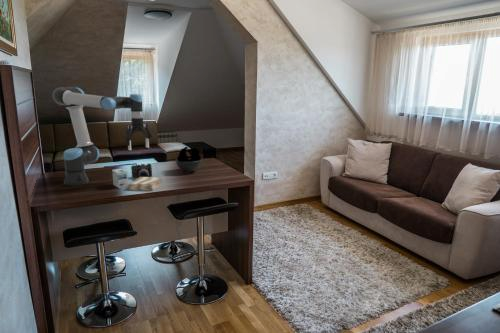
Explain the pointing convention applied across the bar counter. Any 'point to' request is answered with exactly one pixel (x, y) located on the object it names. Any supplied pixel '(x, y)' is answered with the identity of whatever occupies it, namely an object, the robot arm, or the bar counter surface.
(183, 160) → the coal bowl
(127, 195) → the bar counter surface
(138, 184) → the base
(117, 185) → the light bulb box
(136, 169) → the camera
